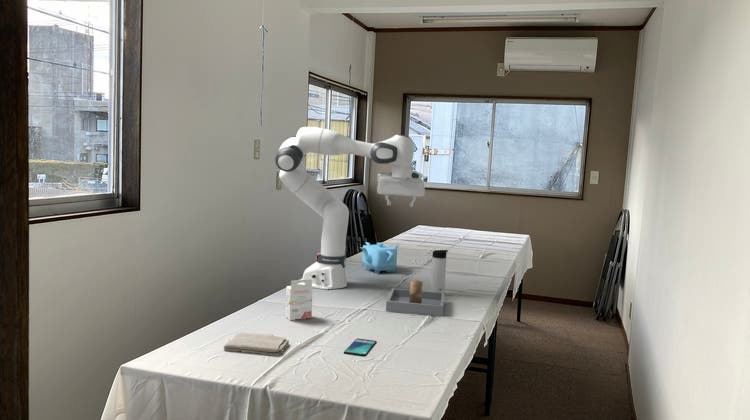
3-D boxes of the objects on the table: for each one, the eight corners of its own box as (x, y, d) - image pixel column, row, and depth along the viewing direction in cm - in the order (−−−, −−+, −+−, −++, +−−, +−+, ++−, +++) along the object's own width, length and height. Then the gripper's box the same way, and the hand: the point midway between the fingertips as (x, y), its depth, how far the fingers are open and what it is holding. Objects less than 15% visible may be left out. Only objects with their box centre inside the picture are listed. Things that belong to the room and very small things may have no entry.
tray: (385, 311, 231) (386, 301, 230) (391, 297, 252) (392, 288, 252) (442, 316, 228) (443, 306, 228) (443, 302, 250) (444, 292, 249)
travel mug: (444, 296, 259) (447, 251, 257) (429, 294, 260) (431, 250, 258) (445, 293, 265) (448, 249, 263) (430, 291, 267) (433, 247, 264)
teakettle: (393, 276, 295) (395, 247, 294) (356, 272, 298) (358, 244, 297) (398, 269, 314) (400, 241, 312) (364, 265, 317) (365, 238, 315)
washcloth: (280, 357, 176) (280, 347, 176) (222, 352, 178) (222, 342, 178) (290, 344, 188) (290, 335, 188) (235, 340, 190) (235, 330, 190)
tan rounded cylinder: (409, 305, 238) (410, 283, 237) (408, 301, 243) (409, 280, 241) (422, 305, 238) (423, 283, 237) (421, 302, 243) (422, 280, 242)
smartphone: (377, 340, 194) (365, 355, 180) (377, 343, 194) (365, 357, 180) (356, 338, 196) (342, 352, 181) (356, 340, 196) (342, 354, 181)
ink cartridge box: (306, 315, 220) (308, 276, 218) (311, 318, 216) (313, 279, 214) (284, 317, 216) (286, 277, 215) (289, 321, 212) (290, 280, 210)
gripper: (376, 172, 248) (374, 205, 249) (425, 175, 245) (423, 208, 247) (378, 171, 254) (376, 203, 256) (426, 174, 252) (424, 206, 253)
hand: (400, 206), depth 251 cm, fingers open, 8 cm apart
